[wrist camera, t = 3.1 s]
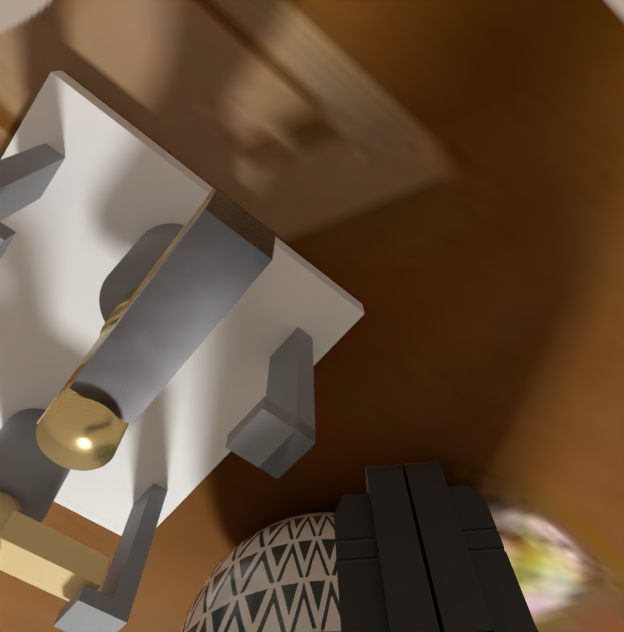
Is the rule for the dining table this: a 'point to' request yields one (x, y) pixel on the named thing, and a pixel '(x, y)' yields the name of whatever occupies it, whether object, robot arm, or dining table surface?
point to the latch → (155, 332)
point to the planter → (274, 582)
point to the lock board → (84, 329)
